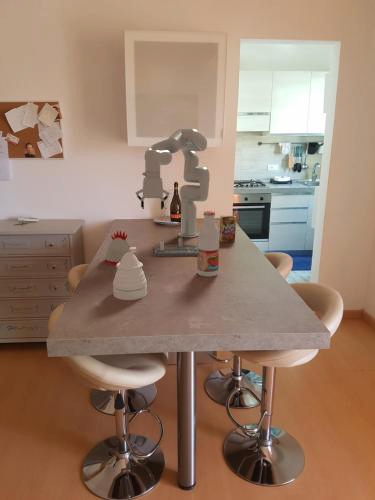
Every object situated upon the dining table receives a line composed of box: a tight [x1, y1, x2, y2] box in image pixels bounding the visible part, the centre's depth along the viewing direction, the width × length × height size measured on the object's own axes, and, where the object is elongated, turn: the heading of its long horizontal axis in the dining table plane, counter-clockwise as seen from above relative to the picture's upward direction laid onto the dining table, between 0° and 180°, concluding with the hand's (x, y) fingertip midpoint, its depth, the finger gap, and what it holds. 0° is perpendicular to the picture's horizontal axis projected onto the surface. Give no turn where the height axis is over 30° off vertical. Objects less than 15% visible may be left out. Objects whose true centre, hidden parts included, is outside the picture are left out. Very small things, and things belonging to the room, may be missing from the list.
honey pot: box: [112, 246, 148, 301], centre depth 147 cm, size 13×13×18 cm
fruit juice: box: [196, 210, 220, 278], centre depth 170 cm, size 9×9×28 cm
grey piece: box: [105, 230, 132, 266], centre depth 189 cm, size 14×14×15 cm
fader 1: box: [159, 239, 165, 250], centre depth 203 cm, size 3×2×5 cm
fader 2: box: [177, 236, 183, 247], centre depth 211 cm, size 3×2×5 cm
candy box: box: [218, 215, 237, 243], centre depth 229 cm, size 9×4×15 cm, turn 98°
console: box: [154, 243, 198, 257], centre depth 207 cm, size 16×24×2 cm, turn 94°
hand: (152, 208), depth 199 cm, fingers open, 9 cm apart
